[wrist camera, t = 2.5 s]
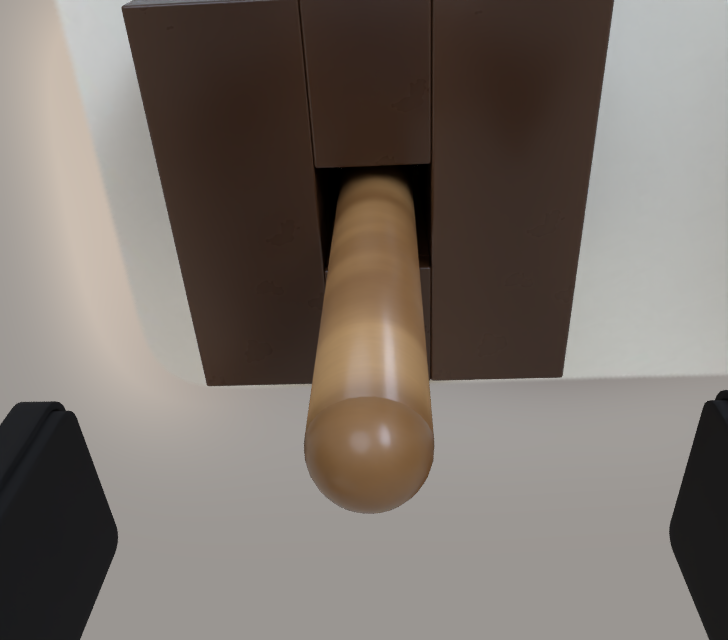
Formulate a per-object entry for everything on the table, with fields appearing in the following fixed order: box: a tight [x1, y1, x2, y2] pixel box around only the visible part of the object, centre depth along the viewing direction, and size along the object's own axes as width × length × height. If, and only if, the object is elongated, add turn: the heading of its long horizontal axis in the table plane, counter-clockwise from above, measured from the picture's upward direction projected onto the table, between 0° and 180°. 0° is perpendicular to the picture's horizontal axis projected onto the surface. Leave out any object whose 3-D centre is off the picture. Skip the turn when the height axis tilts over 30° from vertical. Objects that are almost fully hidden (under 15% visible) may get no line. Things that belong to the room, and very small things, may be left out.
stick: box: [304, 165, 434, 514], centre depth 16 cm, size 2×2×16 cm
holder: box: [122, 0, 614, 386], centre depth 20 cm, size 10×10×7 cm
